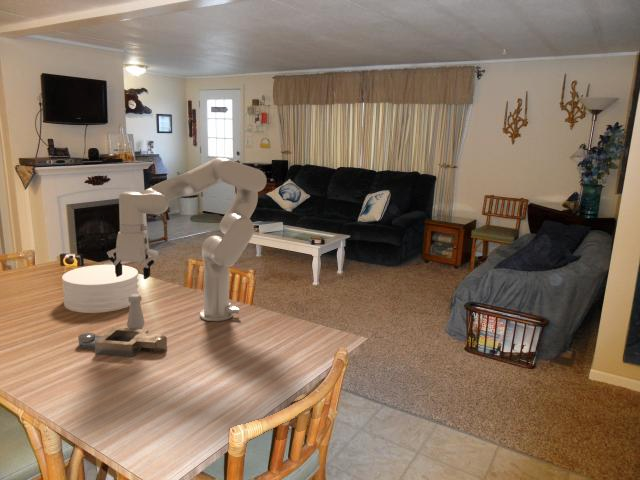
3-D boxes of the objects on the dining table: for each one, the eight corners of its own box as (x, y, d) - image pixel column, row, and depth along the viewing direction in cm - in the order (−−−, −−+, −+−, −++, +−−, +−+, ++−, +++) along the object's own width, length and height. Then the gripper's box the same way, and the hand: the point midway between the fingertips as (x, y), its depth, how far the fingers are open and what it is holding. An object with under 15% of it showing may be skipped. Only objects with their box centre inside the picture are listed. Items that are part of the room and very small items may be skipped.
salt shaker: (128, 334, 164) (126, 298, 161) (126, 327, 169) (124, 293, 166) (145, 331, 167) (144, 296, 164) (143, 325, 172) (142, 291, 169)
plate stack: (153, 299, 199) (152, 273, 196) (90, 318, 176) (89, 289, 173) (112, 285, 213) (111, 260, 211) (49, 301, 190) (47, 274, 187)
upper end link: (173, 342, 159) (173, 331, 158) (159, 358, 147) (158, 347, 147) (114, 338, 160) (113, 327, 159) (95, 354, 149) (94, 342, 148)
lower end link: (148, 340, 160) (148, 332, 159) (132, 356, 148) (132, 348, 147) (89, 336, 161) (89, 328, 160) (69, 352, 149) (68, 343, 148)
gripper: (161, 228, 163) (161, 275, 167) (112, 224, 164) (113, 272, 167) (152, 232, 156) (152, 282, 159) (101, 228, 156) (103, 278, 160)
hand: (132, 276), depth 163 cm, fingers open, 9 cm apart
